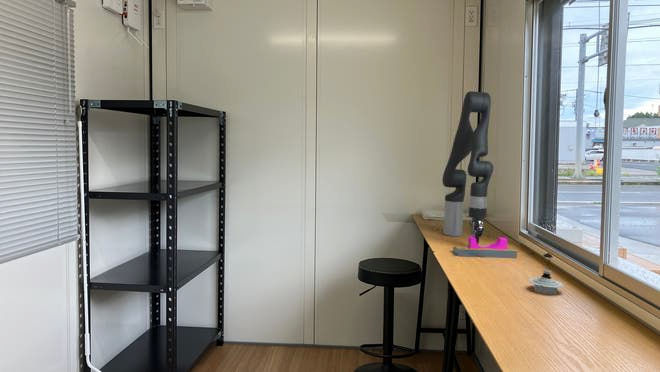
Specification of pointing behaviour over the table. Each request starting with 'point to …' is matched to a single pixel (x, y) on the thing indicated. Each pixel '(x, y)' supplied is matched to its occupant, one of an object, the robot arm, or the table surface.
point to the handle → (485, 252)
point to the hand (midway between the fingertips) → (475, 245)
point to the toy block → (499, 244)
